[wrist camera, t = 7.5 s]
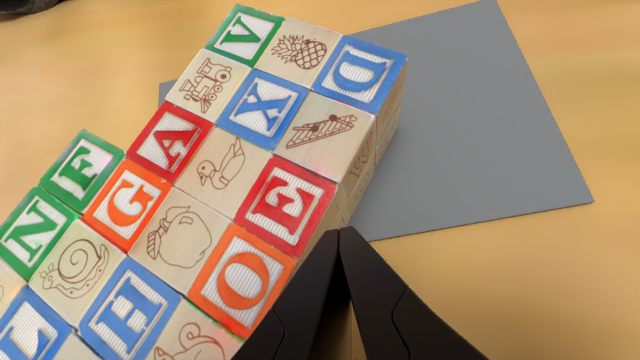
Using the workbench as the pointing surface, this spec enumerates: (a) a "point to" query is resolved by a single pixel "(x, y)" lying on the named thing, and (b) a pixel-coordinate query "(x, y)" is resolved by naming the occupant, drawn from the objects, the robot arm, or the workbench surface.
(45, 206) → the stack of blocks
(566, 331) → the workbench surface
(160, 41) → the workbench surface
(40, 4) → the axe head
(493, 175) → the mat
